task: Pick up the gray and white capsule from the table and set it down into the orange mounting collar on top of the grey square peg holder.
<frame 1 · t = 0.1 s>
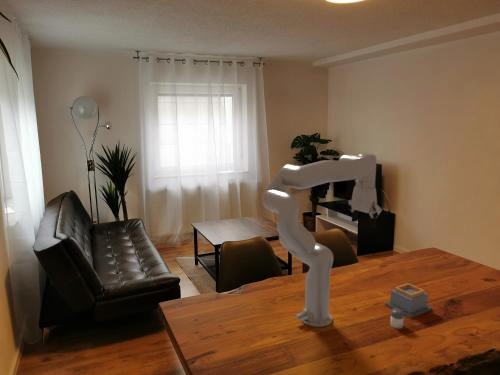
hand: (363, 223, 164), 36 cm above the table, tool pointing down, fingers open, 9 cm apart
grey square peg holder: (408, 307, 168), on the table
gray and white capsule: (396, 325, 154), on the table
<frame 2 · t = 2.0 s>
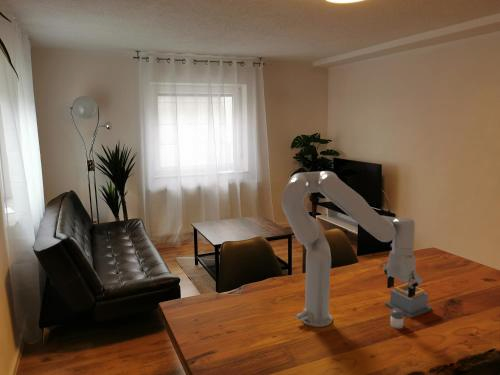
hand: (400, 291, 151), 14 cm above the table, tool pointing down, fingers open, 9 cm apart
nothing on the table moved.
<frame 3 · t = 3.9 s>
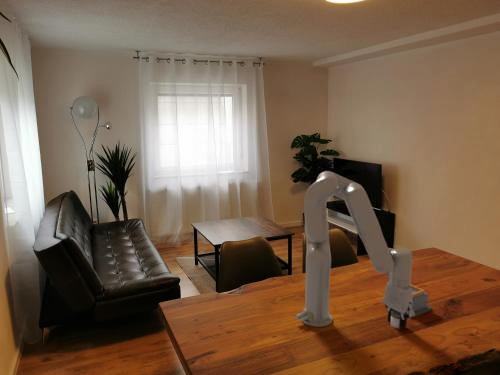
hand: (396, 323, 154), 1 cm above the table, tool pointing down, fingers closed on gray and white capsule, 4 cm apart
gray and white capsule: (396, 325, 154), on the table, touching gripper
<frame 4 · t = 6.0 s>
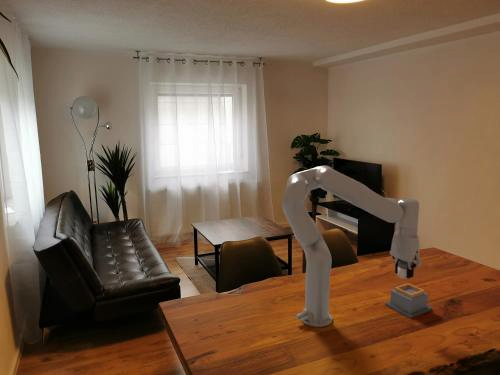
hand: (403, 274, 154), 20 cm above the table, tool pointing down, fingers closed on gray and white capsule, 4 cm apart
gray and white capsule: (403, 276, 154), point 19 cm above the table, touching gripper
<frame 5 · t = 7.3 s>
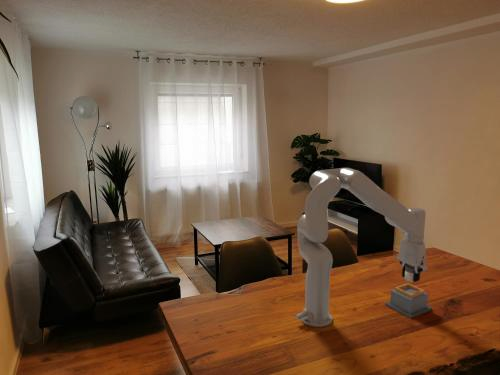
hand: (410, 278, 165), 13 cm above the table, tool pointing down, fingers closed on gray and white capsule, 4 cm apart
gray and white capsule: (410, 279, 166), point 13 cm above the table, touching gripper
when the fingers open (10 cm above the table, at t = 8.2 s): gray and white capsule drops 2 cm, resting on grey square peg holder.
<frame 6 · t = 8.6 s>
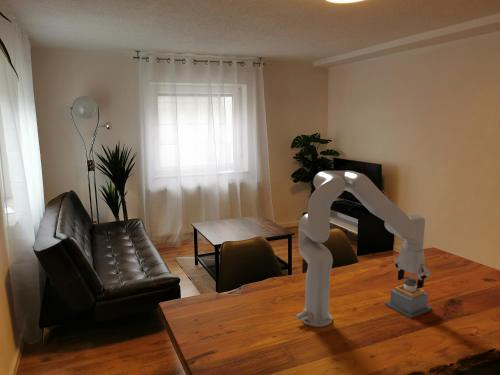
hand: (410, 283, 166), 11 cm above the table, tool pointing down, fingers open, 9 cm apart
gray and white capsule: (409, 292, 167), point 7 cm above the table, touching grey square peg holder
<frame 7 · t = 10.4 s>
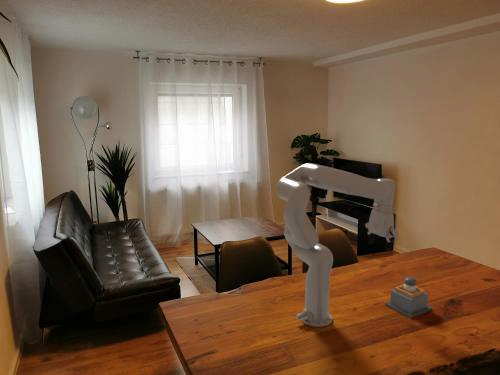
hand: (379, 247, 166), 26 cm above the table, tool pointing down, fingers open, 9 cm apart
nothing on the table moved.
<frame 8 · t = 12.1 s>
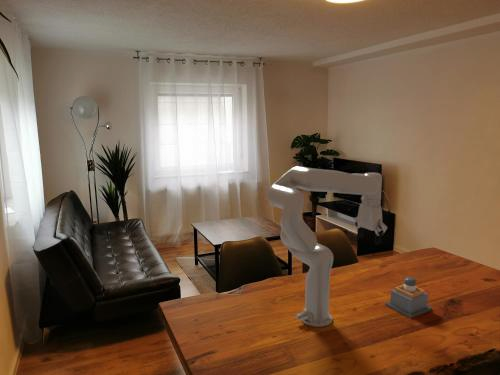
hand: (368, 240, 168), 28 cm above the table, tool pointing down, fingers open, 9 cm apart
nothing on the table moved.
at the end: gray and white capsule 0.1 cm off-centre on the grey square peg holder, point 7.0 cm above the grey square peg holder's base; gray and white capsule tilted 0°; the gripper is holding nothing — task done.
